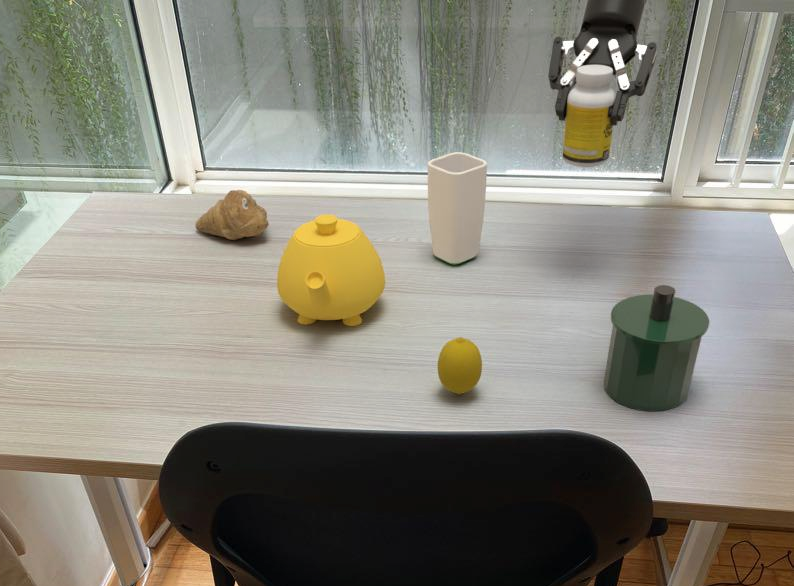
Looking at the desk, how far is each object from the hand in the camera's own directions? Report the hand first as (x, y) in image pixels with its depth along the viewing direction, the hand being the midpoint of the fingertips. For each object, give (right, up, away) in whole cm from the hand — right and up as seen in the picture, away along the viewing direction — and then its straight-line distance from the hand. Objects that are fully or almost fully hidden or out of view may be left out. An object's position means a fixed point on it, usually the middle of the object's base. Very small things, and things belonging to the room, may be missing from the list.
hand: (587, 119), depth 117 cm
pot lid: (+6, -30, -12) cm, 33 cm away
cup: (-16, -11, +23) cm, 30 cm away
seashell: (-53, -5, +32) cm, 62 cm away
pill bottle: (+1, -3, +5) cm, 6 cm away
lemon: (-18, -38, -5) cm, 42 cm away
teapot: (-35, -24, +10) cm, 44 cm away
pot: (+6, -37, -6) cm, 38 cm away
